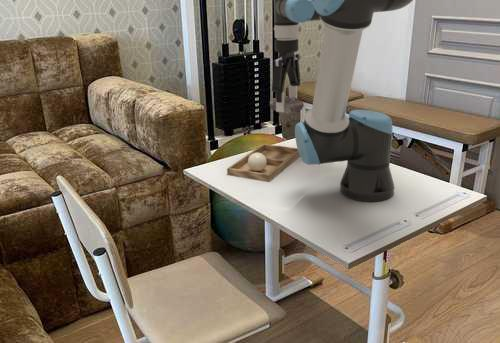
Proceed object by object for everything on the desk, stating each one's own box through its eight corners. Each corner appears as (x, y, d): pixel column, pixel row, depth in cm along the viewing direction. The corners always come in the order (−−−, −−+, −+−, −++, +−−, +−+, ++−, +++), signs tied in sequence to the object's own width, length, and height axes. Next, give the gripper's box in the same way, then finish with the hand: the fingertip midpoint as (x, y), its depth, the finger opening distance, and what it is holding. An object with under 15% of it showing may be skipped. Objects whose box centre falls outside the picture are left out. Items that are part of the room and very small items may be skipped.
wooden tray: (301, 157, 171) (301, 149, 170) (269, 184, 150) (269, 175, 149) (263, 151, 178) (263, 143, 176) (227, 177, 156) (227, 168, 155)
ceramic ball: (270, 168, 159) (269, 151, 157) (261, 175, 154) (261, 157, 152) (253, 166, 162) (252, 148, 160) (244, 172, 157) (244, 154, 155)
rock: (281, 105, 173) (281, 92, 171) (306, 111, 165) (307, 97, 163) (265, 110, 167) (264, 97, 166) (290, 116, 160) (290, 102, 158)
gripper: (290, 34, 167) (290, 100, 176) (259, 42, 150) (261, 115, 158) (311, 35, 164) (310, 102, 172) (281, 43, 147) (282, 117, 155)
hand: (286, 108), depth 165 cm, fingers closed on rock, 9 cm apart
